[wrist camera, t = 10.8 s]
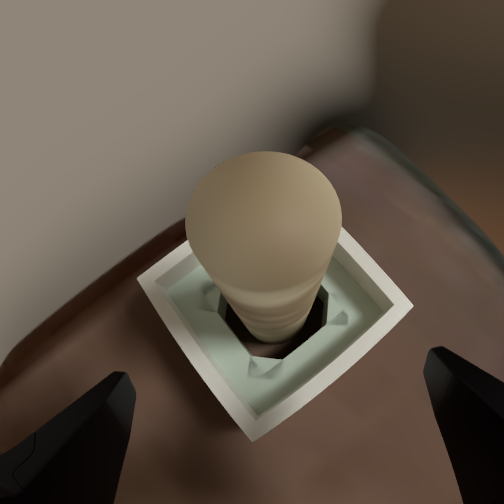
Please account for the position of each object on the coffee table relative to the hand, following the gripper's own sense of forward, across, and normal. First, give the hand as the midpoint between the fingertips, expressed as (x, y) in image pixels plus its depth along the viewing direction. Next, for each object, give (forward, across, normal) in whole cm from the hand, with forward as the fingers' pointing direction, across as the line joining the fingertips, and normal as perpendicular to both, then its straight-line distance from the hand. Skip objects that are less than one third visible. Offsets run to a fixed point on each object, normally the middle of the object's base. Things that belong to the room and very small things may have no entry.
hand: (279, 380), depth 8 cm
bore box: (+11, 0, +5) cm, 12 cm away
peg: (+11, 0, +5) cm, 12 cm away
